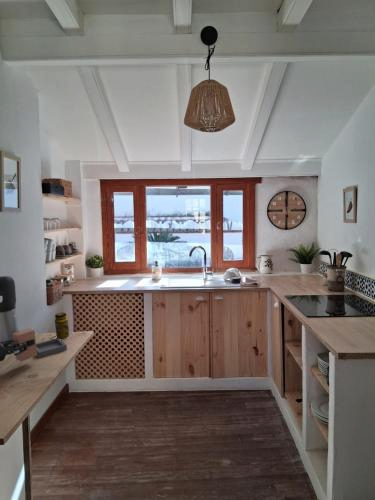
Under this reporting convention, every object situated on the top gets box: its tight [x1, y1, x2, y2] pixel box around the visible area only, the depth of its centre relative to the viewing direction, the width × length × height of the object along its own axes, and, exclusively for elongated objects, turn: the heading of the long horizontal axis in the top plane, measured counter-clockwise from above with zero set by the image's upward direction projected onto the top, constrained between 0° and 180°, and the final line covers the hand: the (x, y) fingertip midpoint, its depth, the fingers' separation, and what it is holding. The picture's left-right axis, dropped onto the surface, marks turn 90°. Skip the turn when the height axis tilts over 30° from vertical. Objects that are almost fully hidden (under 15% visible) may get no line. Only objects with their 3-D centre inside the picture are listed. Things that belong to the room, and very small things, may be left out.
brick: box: [13, 327, 38, 362], centre depth 153 cm, size 4×7×11 cm, turn 141°
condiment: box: [50, 312, 73, 340], centre depth 183 cm, size 7×8×12 cm
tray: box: [36, 338, 68, 358], centre depth 168 cm, size 12×12×2 cm
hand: (30, 340), depth 155 cm, fingers closed on brick, 4 cm apart
